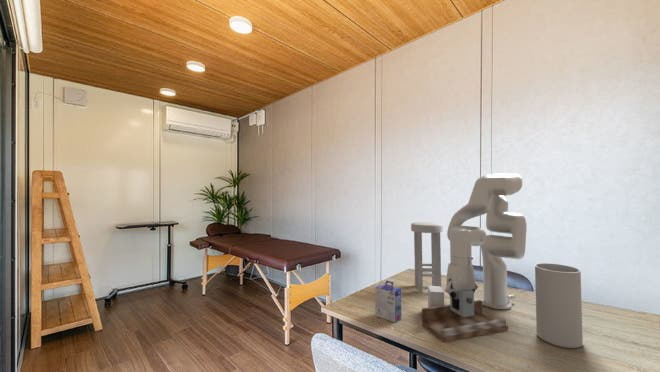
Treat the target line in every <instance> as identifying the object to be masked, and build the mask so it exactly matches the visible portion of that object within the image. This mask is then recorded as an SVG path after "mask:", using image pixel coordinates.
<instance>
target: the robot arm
mask: <svg viewBox="0 0 660 372" xmlns="http://www.w3.org/2000/svg"><path fill="white" fill-rule="evenodd" d="M522 187H523V178H522V176H521V175H520V174H518V173H515V172H514V173H512V172H511V173H493V174H492V173H491V174H486V175H483V176H481V177H479V178H477V179H476V181H475V182H474V185H473V188H472V191H471V194H470V197H469V200H468V203H467V204H465V205H463V206H462V207H461V208H460V209H459V210H457V211H456V212H455V213H454V214H453V216H452V217H451V219H450V221H449V224H448V228H447V231H446V236H447V238H448V240H449V251H450V254H449V255H450V256H449V257H450V258H449V260H450V261H449V262H450V263H448V265H447V271H446V286H445V288H444V293H446V294H448V295H449V298H450V297H452V307H453V308H454V309H456V310H459V299H458V295H459V291H466V290H472V291H474V293H475V292H476V290H477V289H479V287H478V284H477V283H476V274H475V268H474V264H473V263H472V262H473V261H472V260H473V259H474V257H473V256H472V253H473V252H472V247H479V246H480V251H481V256H482V272H483V273H482V277H483V278H482V280H483V281H482V283H483V297H480V299H479V300H481V301H482V306H484V307H487V308H490V309H495V310H503V311H504V310H509V309H512V307H513V305H512V304H513V303H511V302H510V300H514V299H516V296H515V295H514V294H508V269H507V264H506V263H505V261H504V260H503V258H505V259H510V260H521V259H523V258H524V256H525V254H526V246H527V245H526V243H527V242H526V241H527V220H526V217H525V216H524V215H523V214H521V213H517V212H509V202H508V199H506V197H508V196H512V195H514V194H516V193H518V192H520V191H521V189H522ZM485 214H486V216H485V217H486V219H485V227H486V229H487V231H488V232H489V231H490V232H492V233H496V234H486V232H485V230H484V229H483V228H481V227H479V226H470V225H463V224H465V223H466V222H467V221H468V220H471V219H473V218H476V217H480V216H483V215H485ZM497 233H498V234H508V235H511V236H508V235H506V236H504V235H498V234H497ZM451 289H452V290H451ZM450 290H451V291H450ZM454 293H455V294H454Z"/></svg>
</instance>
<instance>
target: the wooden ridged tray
mask: <svg viewBox="0 0 660 372" xmlns="http://www.w3.org/2000/svg"><path fill="white" fill-rule="evenodd" d="M421 325H422V326H423V328H425V329H426V330H427V331H429V332H430V333H432V334H433V335H434V336H436V337H437V338H438V339H440V340H441V341H442V342H443V343H447V342H453V341H456V340H463V339H469V338H473V337H479V336H485V335H489V334H490V335H491V334H495V333H499V332H500V333H501V332H504V331H505V332H506V331H508V330H509V329H508V328H509V327H508V325H507V319H505V318H500V319H494V318H493V317H490V316H489V315H486V314H485V313H483V304H482V301H481V300H480V299H478V300H474V316H468V317H462V316H460V315H459V314H457V313H455V312H453V311H452V310H450V304H444V305H443V306H436V307H429V308H428V307H422V308H421Z"/></svg>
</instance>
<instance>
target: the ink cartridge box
mask: <svg viewBox="0 0 660 372" xmlns="http://www.w3.org/2000/svg"><path fill="white" fill-rule="evenodd" d="M374 288H375V291H374V300H375V301H374V303H375V304H374V308H375V309H374V315H375V317H379V318H382V319H384V320H387V321H390V322H393V323H396V322H398V321H400V320H402V318H403V317H402V288H398V287H394V281H391V280H387V279H386V281H385V283H384V284H379V285H377V286H375V287H374Z"/></svg>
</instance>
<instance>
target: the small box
mask: <svg viewBox="0 0 660 372" xmlns="http://www.w3.org/2000/svg"><path fill="white" fill-rule="evenodd" d="M443 305H445V291H444V290H443V288H442V286H441V287H440V286H432V285H427V306H428V307H427V308H429V307H436V306H443Z"/></svg>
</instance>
